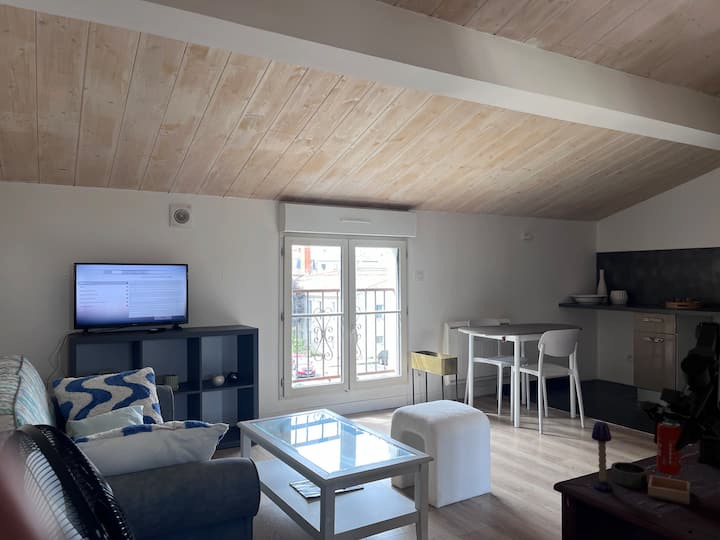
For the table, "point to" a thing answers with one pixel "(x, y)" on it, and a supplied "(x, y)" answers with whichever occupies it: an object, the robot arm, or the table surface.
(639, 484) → the steel collar
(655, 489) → the terracotta tray
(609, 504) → the table surface
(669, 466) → the beverage can
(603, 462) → the toy lamp
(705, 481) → the table surface
